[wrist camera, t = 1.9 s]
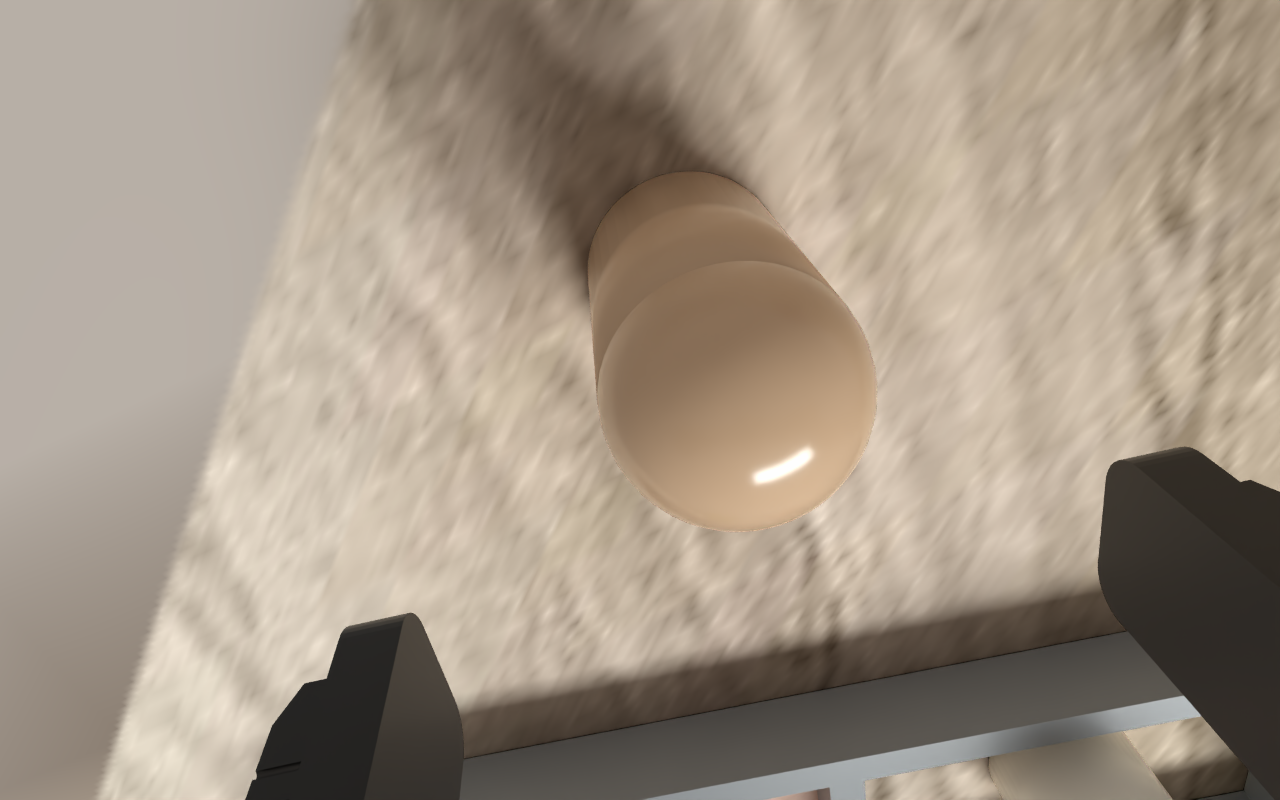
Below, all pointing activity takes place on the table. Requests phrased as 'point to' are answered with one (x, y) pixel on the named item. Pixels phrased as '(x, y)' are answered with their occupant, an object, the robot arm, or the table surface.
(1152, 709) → the divided rectangular frame
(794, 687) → the table surface
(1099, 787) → the white capsule
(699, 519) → the beige capsule
